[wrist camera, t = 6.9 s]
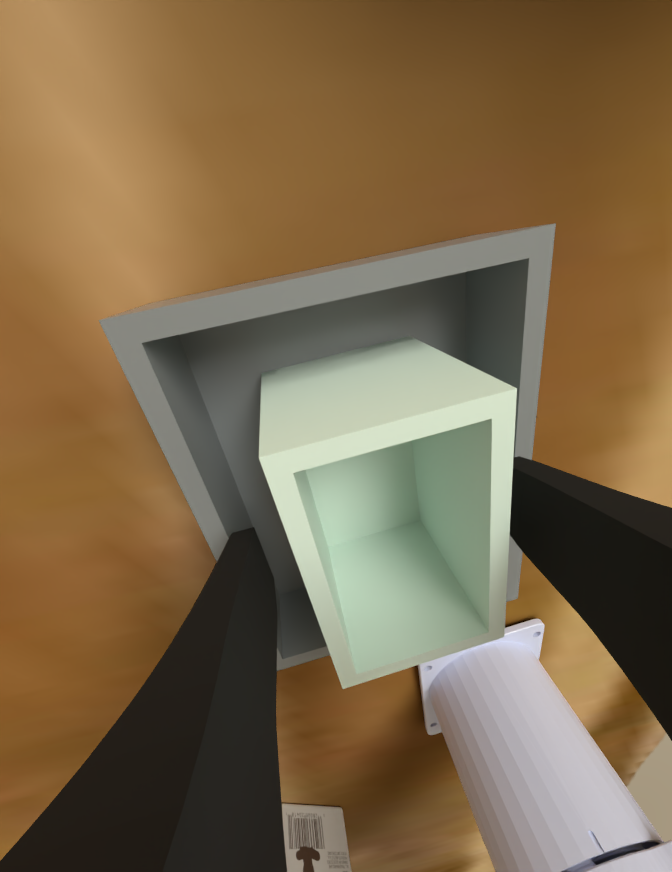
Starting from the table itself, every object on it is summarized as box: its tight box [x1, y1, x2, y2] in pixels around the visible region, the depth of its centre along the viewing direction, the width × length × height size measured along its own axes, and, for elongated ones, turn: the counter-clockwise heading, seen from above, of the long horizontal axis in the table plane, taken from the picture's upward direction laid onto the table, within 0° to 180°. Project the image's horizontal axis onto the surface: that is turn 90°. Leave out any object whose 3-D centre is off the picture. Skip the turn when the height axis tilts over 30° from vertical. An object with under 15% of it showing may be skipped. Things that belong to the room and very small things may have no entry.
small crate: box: [259, 336, 517, 689], centre depth 11 cm, size 8×5×6 cm, turn 12°
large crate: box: [99, 223, 556, 671], centre depth 12 cm, size 13×10×4 cm
